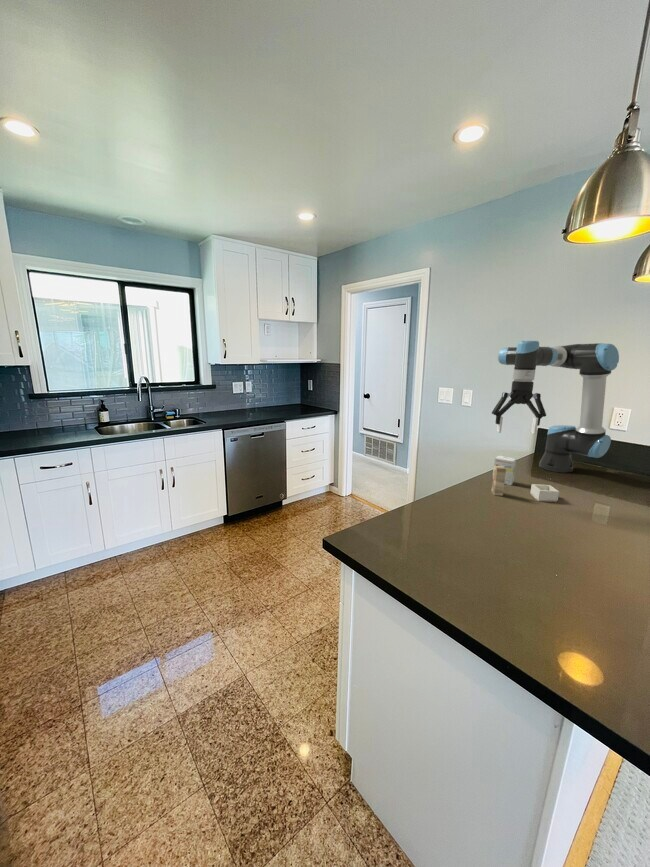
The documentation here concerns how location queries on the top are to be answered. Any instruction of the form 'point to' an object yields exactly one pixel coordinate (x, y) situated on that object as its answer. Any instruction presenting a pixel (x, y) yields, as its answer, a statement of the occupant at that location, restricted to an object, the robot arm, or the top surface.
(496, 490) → the tan wooden block
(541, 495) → the white square open box
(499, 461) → the ink box
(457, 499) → the top surface
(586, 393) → the robot arm
